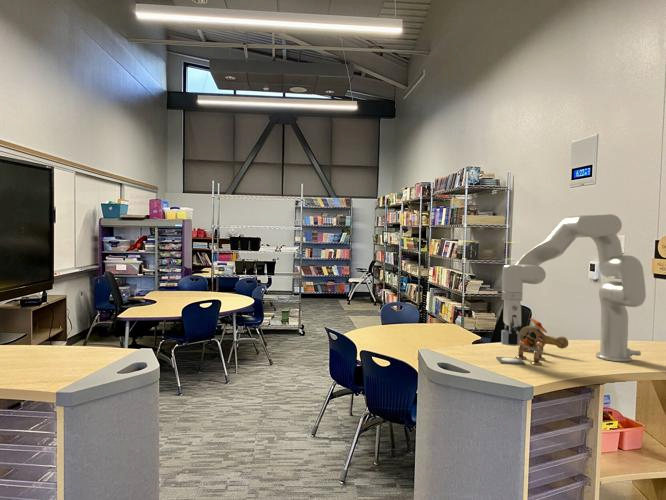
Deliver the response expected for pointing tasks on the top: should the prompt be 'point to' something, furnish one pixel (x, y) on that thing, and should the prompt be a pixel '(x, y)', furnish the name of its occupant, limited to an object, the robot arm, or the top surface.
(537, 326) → the toy helicopter
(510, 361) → the pad
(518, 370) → the top surface
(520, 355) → the brown legged frame
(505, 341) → the blue-grey block
